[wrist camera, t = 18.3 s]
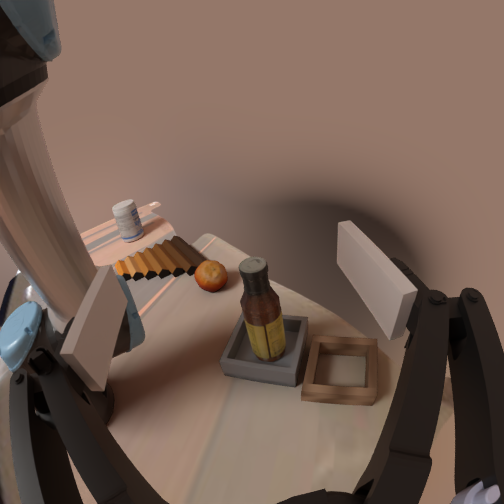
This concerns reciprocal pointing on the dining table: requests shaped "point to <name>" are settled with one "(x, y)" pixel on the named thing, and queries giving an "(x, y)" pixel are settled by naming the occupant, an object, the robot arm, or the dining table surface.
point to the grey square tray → (251, 368)
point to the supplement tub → (128, 220)
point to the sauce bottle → (261, 311)
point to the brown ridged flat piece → (161, 261)
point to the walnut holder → (338, 392)
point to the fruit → (211, 275)
